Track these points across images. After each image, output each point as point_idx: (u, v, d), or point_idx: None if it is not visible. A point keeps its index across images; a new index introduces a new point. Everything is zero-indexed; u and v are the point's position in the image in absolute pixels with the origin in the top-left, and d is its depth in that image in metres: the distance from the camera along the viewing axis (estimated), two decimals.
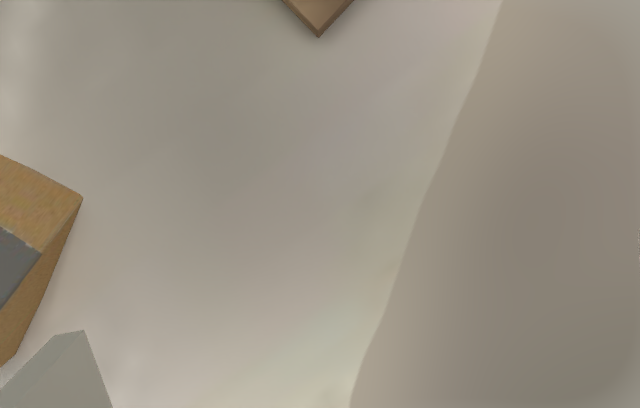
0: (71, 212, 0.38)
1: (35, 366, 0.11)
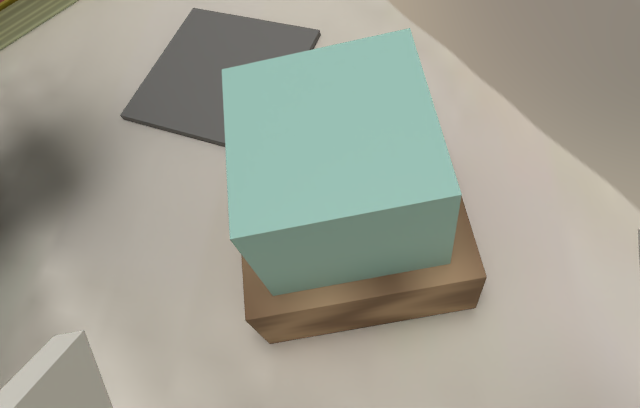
0: None
1: (35, 366, 0.11)
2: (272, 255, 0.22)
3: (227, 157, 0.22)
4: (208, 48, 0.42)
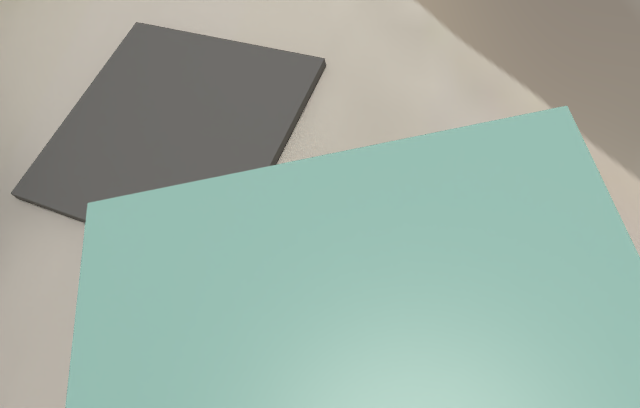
0: None
1: None
2: None
3: None
4: (153, 86, 0.27)
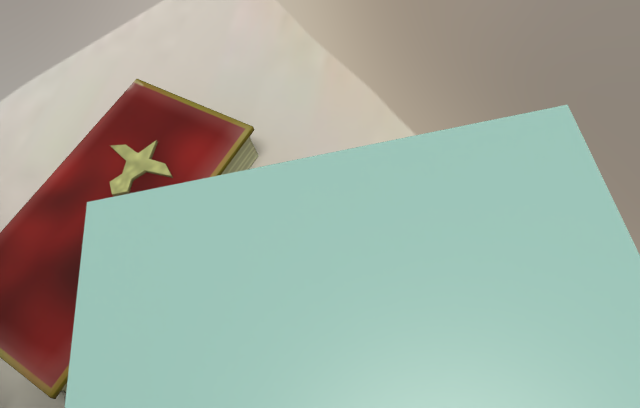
0: None
1: None
2: None
3: None
4: None
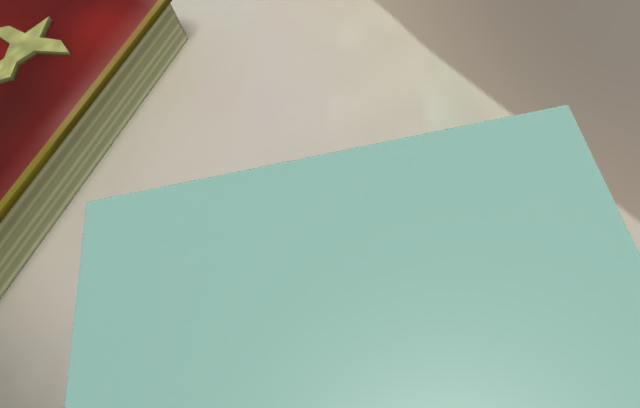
0: None
1: None
2: None
3: None
4: None
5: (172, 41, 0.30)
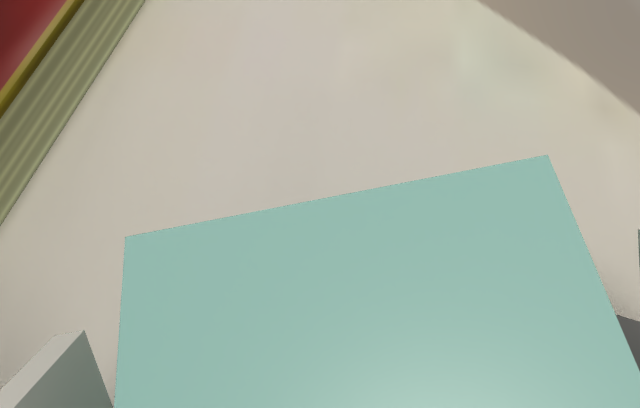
0: None
1: (35, 366, 0.11)
2: None
3: None
4: None
5: None
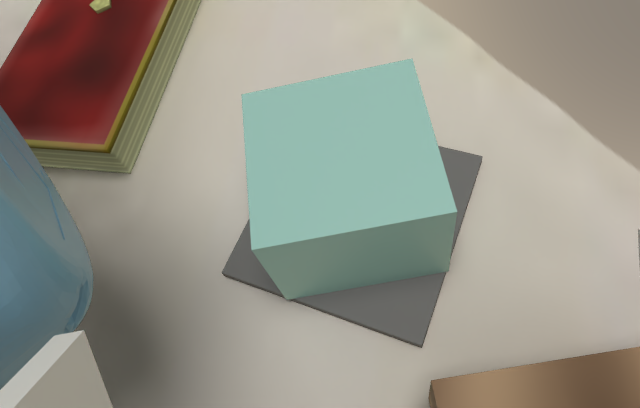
0: None
1: (35, 366, 0.11)
2: (288, 263, 0.24)
3: (247, 175, 0.24)
4: None
5: None
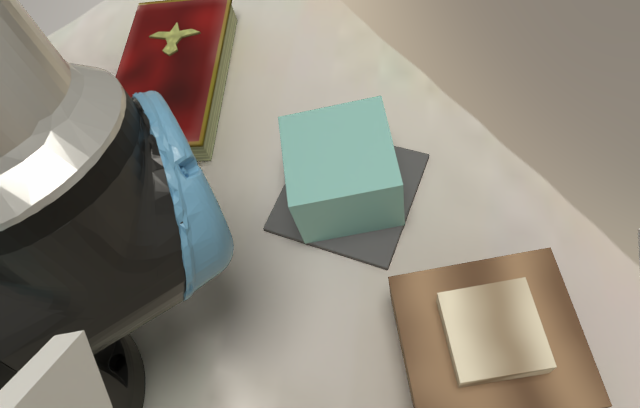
0: None
1: (35, 366, 0.11)
2: (307, 217, 0.42)
3: (284, 166, 0.42)
4: None
5: (233, 21, 0.61)
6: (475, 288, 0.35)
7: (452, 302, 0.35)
